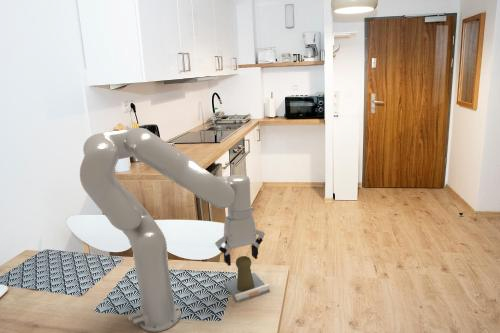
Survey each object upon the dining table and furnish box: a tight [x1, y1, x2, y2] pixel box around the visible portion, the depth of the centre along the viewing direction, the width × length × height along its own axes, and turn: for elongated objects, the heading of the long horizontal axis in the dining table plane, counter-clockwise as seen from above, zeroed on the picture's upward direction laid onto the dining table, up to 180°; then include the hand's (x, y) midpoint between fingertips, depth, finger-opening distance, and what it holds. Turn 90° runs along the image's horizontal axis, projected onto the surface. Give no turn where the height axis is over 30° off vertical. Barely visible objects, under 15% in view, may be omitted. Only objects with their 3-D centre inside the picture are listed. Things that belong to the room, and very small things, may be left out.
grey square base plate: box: [223, 272, 271, 304], centre depth 136 cm, size 12×12×2 cm
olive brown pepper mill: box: [235, 255, 254, 292], centre depth 134 cm, size 6×6×11 cm
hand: (241, 260), depth 132 cm, fingers open, 9 cm apart
